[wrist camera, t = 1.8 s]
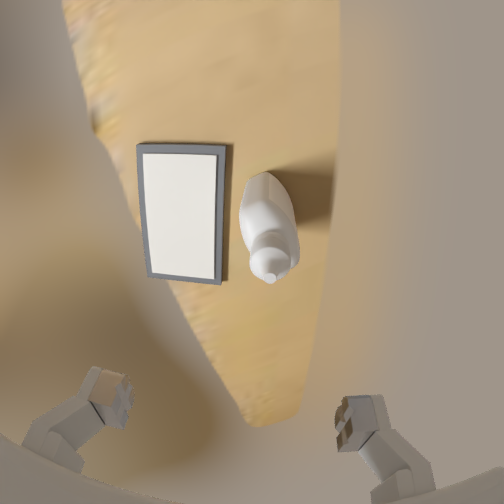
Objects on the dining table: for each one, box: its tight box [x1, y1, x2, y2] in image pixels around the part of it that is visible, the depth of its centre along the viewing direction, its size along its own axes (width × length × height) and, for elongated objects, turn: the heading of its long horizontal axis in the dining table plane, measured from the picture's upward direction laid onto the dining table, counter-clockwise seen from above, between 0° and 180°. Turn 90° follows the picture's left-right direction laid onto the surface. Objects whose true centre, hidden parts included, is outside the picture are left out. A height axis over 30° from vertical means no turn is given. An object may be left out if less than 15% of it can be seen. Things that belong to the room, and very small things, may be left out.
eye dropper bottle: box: [239, 172, 300, 284], centre depth 22 cm, size 4×6×12 cm
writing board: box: [136, 143, 226, 285], centre depth 28 cm, size 14×8×1 cm, turn 176°
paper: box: [143, 153, 217, 279], centre depth 27 cm, size 12×7×1 cm, turn 176°
